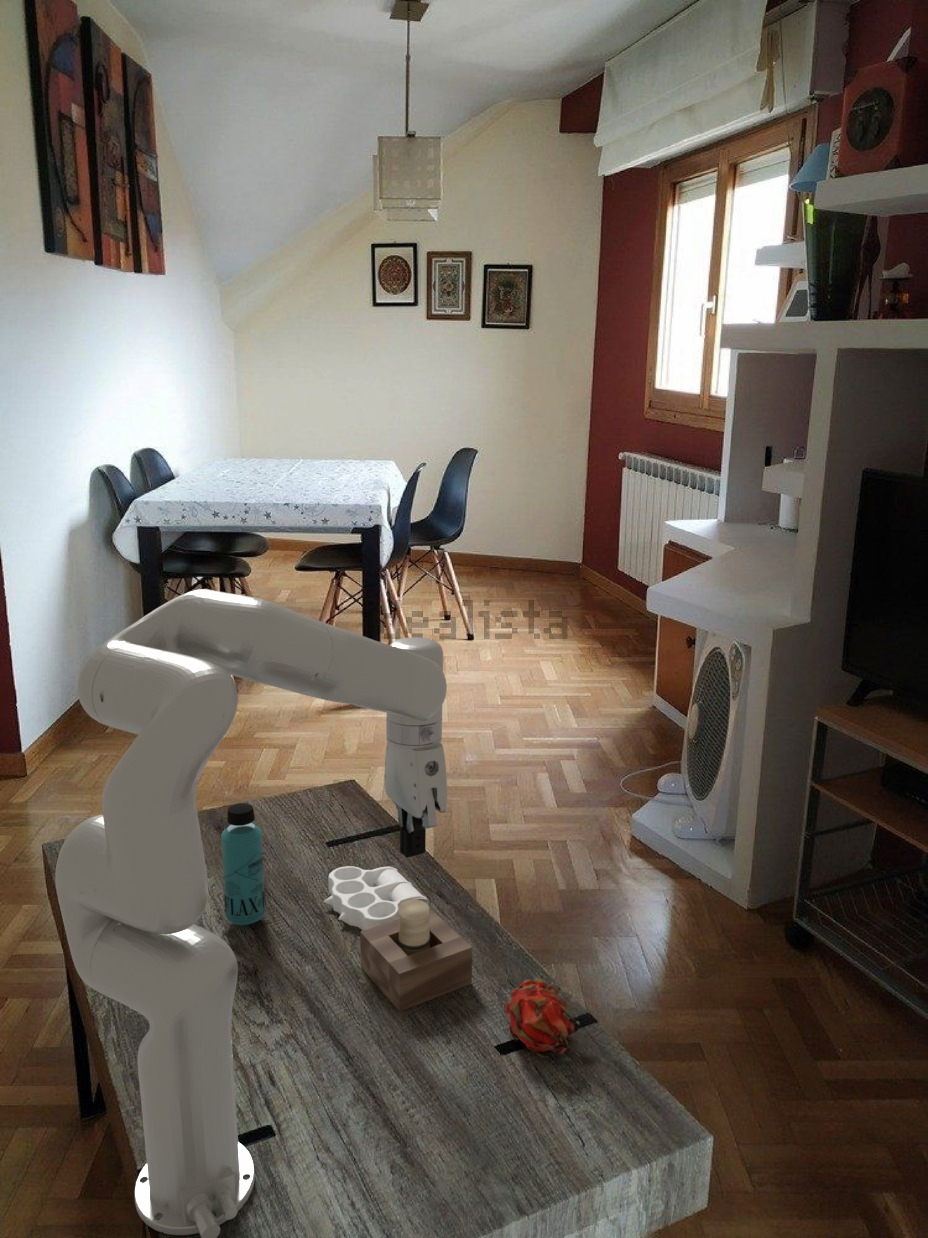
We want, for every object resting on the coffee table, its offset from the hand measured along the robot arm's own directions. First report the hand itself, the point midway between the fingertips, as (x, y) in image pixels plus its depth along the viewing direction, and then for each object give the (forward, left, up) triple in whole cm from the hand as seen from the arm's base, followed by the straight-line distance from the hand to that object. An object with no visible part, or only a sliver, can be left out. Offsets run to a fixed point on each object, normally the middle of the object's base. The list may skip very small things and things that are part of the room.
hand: (412, 853), depth 138 cm
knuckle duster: (+20, -4, -21) cm, 29 cm away
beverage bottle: (+26, +15, -20) cm, 37 cm away
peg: (0, -1, -19) cm, 19 cm away
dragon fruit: (-21, -8, -20) cm, 30 cm away
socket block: (0, -1, -20) cm, 20 cm away
